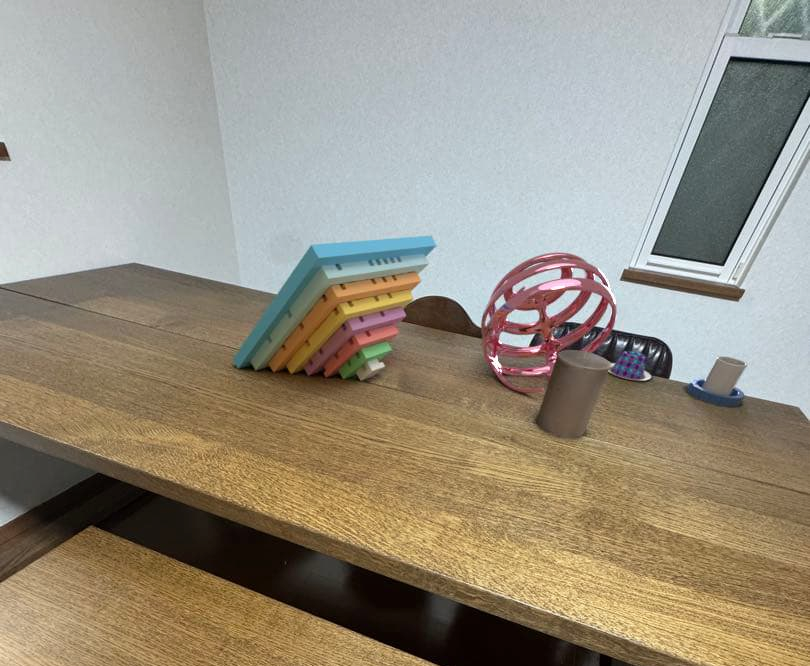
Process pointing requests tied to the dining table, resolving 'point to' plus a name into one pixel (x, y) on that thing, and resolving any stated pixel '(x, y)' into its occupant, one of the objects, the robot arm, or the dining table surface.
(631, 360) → the pudding
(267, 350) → the rainbow stepped pyramid
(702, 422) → the dining table surface
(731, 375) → the cup
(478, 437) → the dining table surface
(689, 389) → the tape ring
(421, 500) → the dining table surface
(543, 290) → the spiral basket
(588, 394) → the pillar candle
